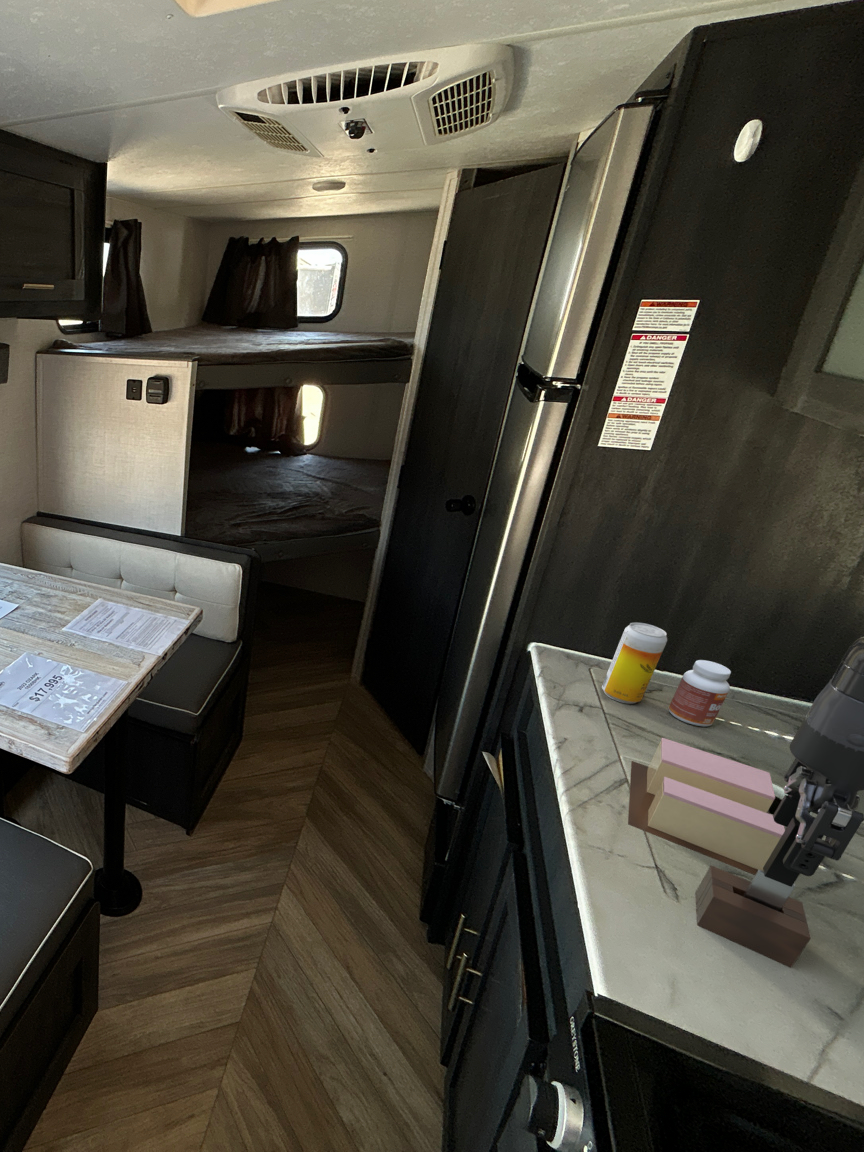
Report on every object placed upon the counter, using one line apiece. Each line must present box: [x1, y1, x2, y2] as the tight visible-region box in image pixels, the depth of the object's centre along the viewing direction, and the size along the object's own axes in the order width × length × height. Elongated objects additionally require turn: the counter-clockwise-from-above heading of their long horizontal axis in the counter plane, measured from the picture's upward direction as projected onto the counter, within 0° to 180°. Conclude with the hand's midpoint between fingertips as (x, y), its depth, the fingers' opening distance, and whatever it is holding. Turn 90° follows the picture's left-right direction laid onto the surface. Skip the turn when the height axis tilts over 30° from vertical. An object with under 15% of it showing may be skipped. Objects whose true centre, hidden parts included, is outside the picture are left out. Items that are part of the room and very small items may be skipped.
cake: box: [647, 737, 776, 813], centre depth 95 cm, size 12×7×7 cm, turn 49°
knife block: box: [694, 865, 812, 969], centre depth 76 cm, size 8×6×6 cm
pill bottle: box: [668, 659, 732, 727], centre depth 115 cm, size 6×6×11 cm
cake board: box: [627, 760, 770, 876], centre depth 94 cm, size 16×18×1 cm
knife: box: [743, 817, 825, 912], centre depth 74 cm, size 3×2×17 cm, turn 49°
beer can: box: [601, 622, 668, 705], centre depth 120 cm, size 6×6×15 cm
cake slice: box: [648, 777, 786, 871], centre depth 88 cm, size 12×4×7 cm, turn 48°
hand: (790, 846), depth 72 cm, fingers open, 8 cm apart
